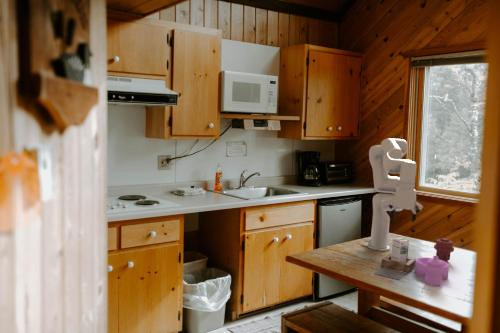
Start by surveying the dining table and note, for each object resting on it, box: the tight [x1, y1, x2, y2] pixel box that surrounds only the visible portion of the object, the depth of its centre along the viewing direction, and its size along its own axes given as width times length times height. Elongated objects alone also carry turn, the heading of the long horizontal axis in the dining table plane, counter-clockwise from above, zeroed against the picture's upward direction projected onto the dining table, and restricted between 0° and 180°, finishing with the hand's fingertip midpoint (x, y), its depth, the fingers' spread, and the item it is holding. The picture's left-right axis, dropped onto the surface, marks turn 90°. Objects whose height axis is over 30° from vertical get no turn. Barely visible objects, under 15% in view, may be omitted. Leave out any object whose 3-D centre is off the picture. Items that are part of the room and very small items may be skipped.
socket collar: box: [380, 253, 417, 274], centre depth 247 cm, size 14×14×4 cm
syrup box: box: [390, 237, 410, 263], centre depth 246 cm, size 6×6×14 cm
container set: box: [414, 255, 450, 287], centre depth 232 cm, size 25×15×13 cm, turn 163°
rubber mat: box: [373, 267, 407, 281], centre depth 235 cm, size 12×12×1 cm
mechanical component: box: [433, 237, 455, 263], centre depth 260 cm, size 12×10×10 cm
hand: (403, 219), depth 244 cm, fingers open, 9 cm apart
